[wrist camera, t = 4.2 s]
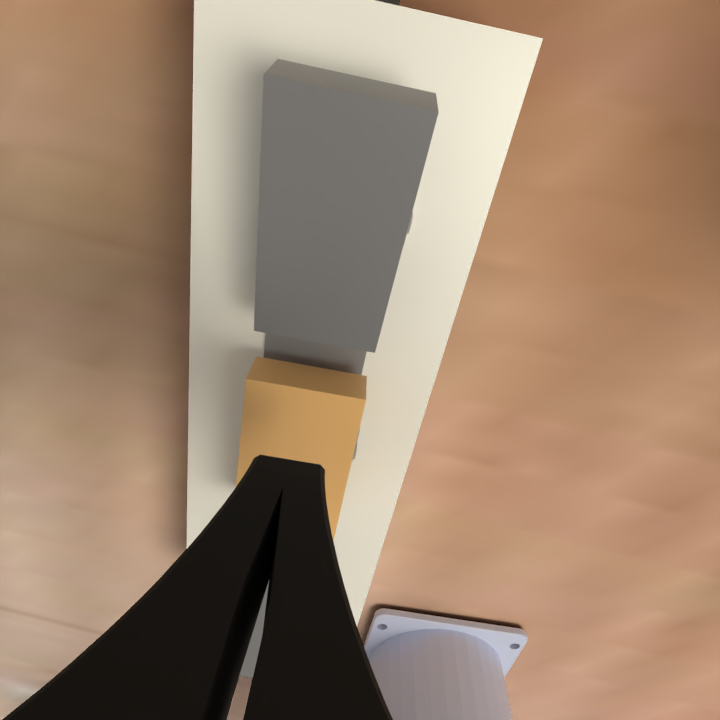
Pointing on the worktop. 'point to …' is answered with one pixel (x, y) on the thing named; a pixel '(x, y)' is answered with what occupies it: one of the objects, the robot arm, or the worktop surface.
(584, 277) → the worktop surface
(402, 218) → the block
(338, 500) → the rocker middle
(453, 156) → the rocker switch panel
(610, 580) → the worktop surface
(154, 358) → the worktop surface
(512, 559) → the worktop surface
